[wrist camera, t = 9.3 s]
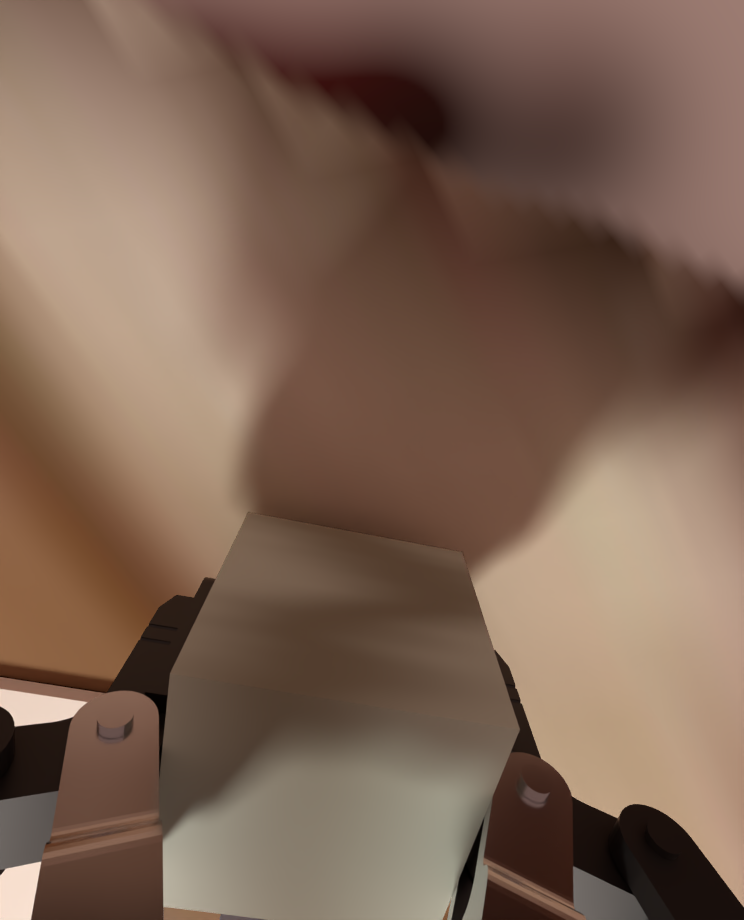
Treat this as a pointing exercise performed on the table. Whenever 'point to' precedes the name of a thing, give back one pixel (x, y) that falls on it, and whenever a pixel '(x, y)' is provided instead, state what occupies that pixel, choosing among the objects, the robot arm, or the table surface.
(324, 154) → the table surface
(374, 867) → the block
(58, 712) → the letter sheet
